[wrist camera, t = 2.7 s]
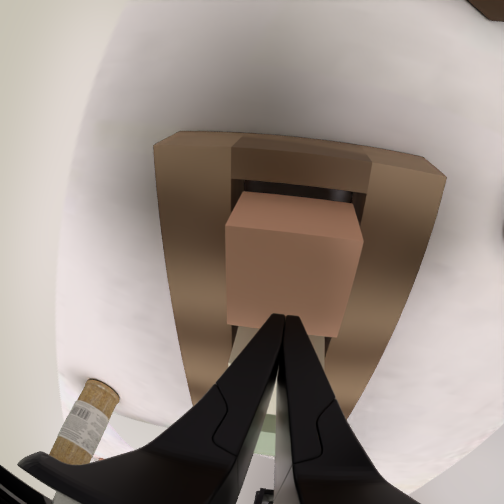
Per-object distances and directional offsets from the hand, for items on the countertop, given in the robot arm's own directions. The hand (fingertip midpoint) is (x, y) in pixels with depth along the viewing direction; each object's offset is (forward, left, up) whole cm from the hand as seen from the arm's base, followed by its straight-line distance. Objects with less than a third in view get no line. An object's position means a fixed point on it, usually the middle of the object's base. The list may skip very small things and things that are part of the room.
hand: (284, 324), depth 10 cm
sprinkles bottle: (-24, +19, -8) cm, 32 cm away
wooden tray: (-7, 0, -8) cm, 10 cm away
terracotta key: (0, 0, -5) cm, 5 cm away
